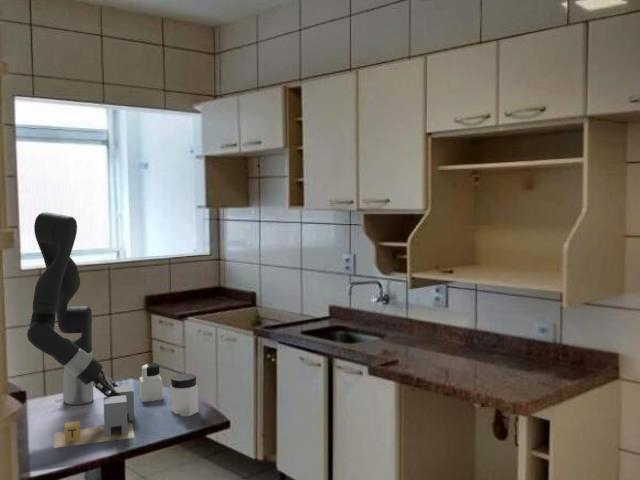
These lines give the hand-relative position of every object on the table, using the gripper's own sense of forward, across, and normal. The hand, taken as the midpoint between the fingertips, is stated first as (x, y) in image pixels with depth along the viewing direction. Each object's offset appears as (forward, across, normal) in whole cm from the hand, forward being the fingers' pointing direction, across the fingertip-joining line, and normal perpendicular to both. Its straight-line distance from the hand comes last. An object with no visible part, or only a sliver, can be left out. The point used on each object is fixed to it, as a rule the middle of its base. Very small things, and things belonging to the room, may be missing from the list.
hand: (122, 398), depth 201 cm
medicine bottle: (+13, +20, -2) cm, 24 cm away
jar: (+19, +1, -8) cm, 21 cm away
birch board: (-1, -12, +11) cm, 17 cm away
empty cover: (+3, -12, +6) cm, 14 cm away
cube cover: (+5, 0, +5) cm, 7 cm away
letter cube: (-6, -12, +15) cm, 20 cm away
